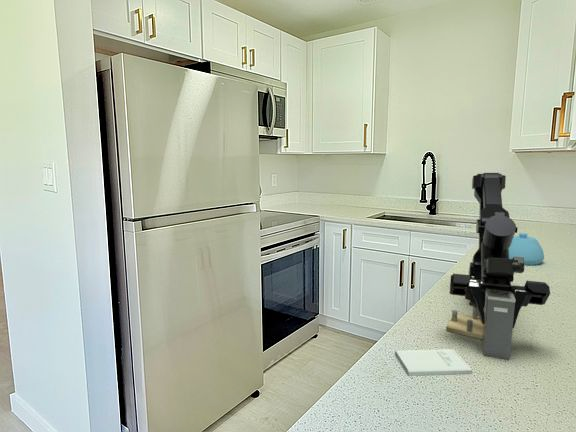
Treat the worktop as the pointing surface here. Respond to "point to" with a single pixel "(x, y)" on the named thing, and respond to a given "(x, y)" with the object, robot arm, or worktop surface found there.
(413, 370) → the external hard drive
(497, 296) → the tower
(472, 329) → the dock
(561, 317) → the worktop surface
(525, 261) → the sugar bowl
